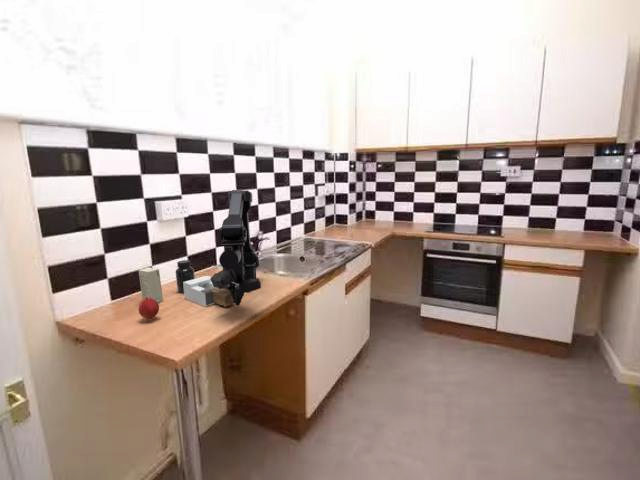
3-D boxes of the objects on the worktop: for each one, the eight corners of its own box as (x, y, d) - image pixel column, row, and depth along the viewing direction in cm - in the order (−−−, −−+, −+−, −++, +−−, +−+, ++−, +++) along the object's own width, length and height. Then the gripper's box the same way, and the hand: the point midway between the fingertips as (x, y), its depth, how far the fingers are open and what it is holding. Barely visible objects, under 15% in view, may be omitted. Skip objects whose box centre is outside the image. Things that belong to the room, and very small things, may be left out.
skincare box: (163, 301, 123) (160, 269, 121) (152, 305, 119) (148, 272, 117) (152, 298, 126) (149, 266, 124) (141, 302, 123) (137, 269, 120)
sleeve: (208, 290, 134) (206, 275, 132) (230, 298, 125) (229, 282, 124) (184, 298, 126) (183, 282, 125) (206, 306, 117) (205, 289, 116)
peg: (218, 297, 125) (217, 286, 124) (235, 303, 118) (234, 292, 118) (208, 300, 121) (207, 289, 121) (225, 306, 115) (224, 295, 115)
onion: (137, 319, 108) (134, 295, 106) (156, 314, 111) (153, 291, 110) (143, 325, 103) (140, 300, 102) (162, 319, 107) (160, 295, 106)
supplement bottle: (190, 286, 139) (187, 258, 137) (199, 290, 135) (196, 260, 132) (174, 291, 134) (171, 261, 131) (183, 294, 129) (180, 264, 127)
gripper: (196, 261, 111) (200, 306, 114) (232, 271, 99) (235, 320, 103) (225, 255, 119) (228, 296, 122) (260, 263, 108) (263, 308, 111)
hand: (237, 305), depth 114 cm, fingers closed
